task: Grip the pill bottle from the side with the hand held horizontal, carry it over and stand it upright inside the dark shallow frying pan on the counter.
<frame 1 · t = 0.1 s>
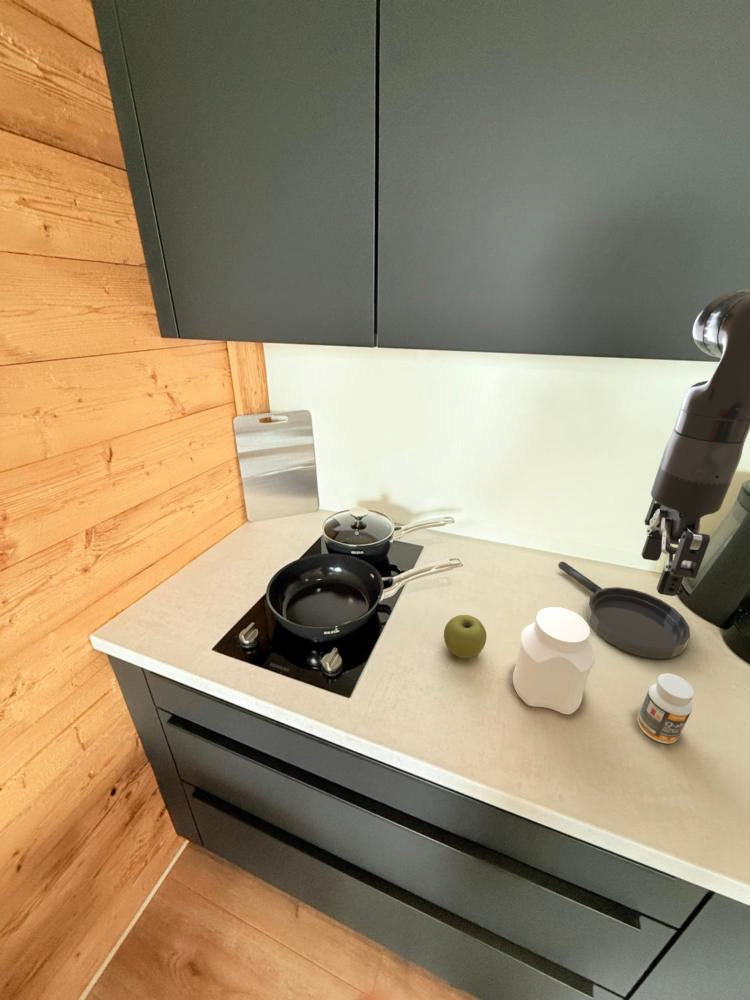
hand: (656, 574, 60), 28 cm above the worktop, tool pointing down, fingers open, 8 cm apart
pan: (633, 626, 89), on the worktop
jar: (545, 688, 76), on the worktop
pill bottle: (656, 729, 69), on the worktop
apple: (462, 651, 83), on the worktop
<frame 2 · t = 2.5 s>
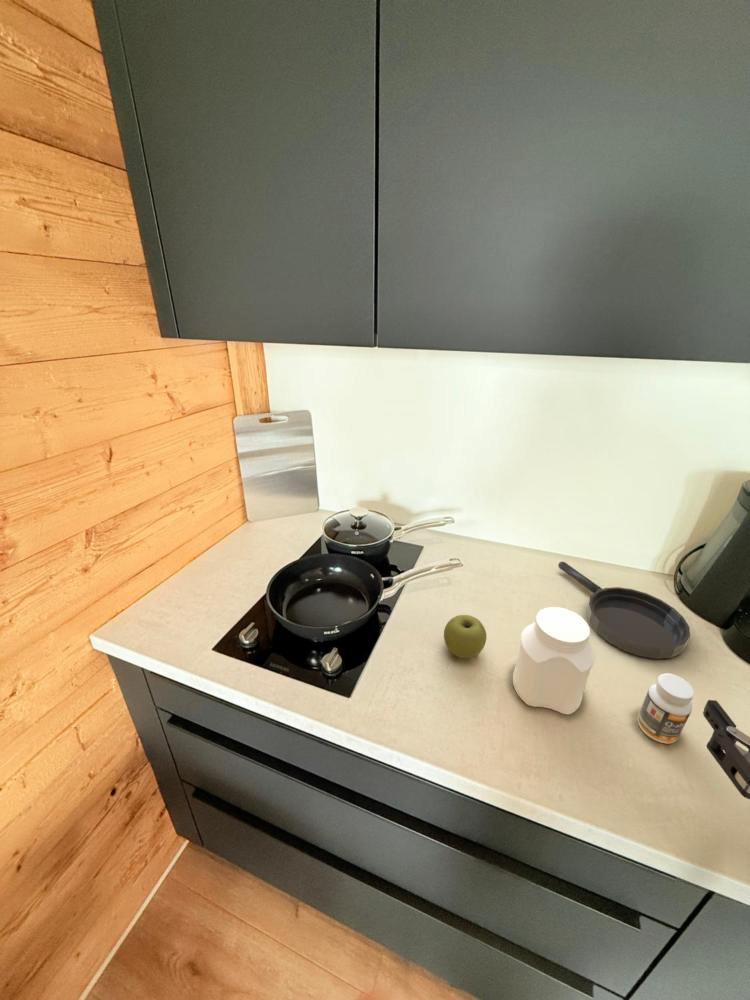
hand: (745, 707, 51), 18 cm above the worktop, tool horizontal, fingers open, 8 cm apart
nothing on the worktop moved.
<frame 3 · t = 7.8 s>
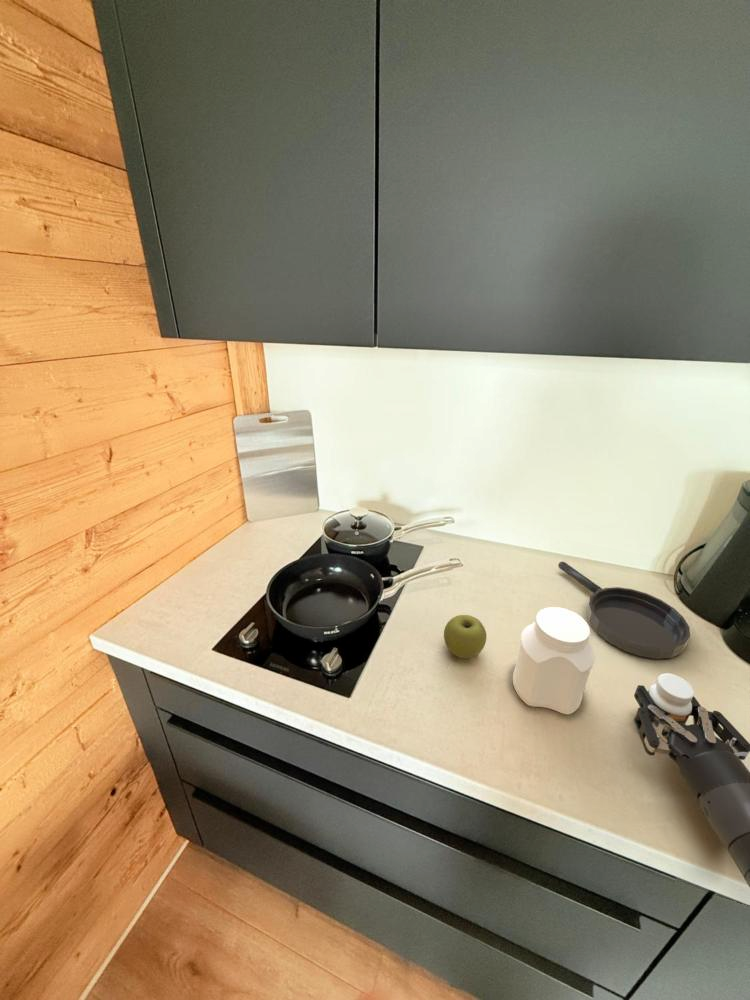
hand: (659, 689, 68), 6 cm above the worktop, tool horizontal, fingers closed on pill bottle, 5 cm apart
pill bottle: (656, 729, 69), on the worktop, touching gripper
everything else where it was.
when the fingers open (6 cm above the worktop, at t = 18.2 s): pill bottle stays where it is, resting on pan.
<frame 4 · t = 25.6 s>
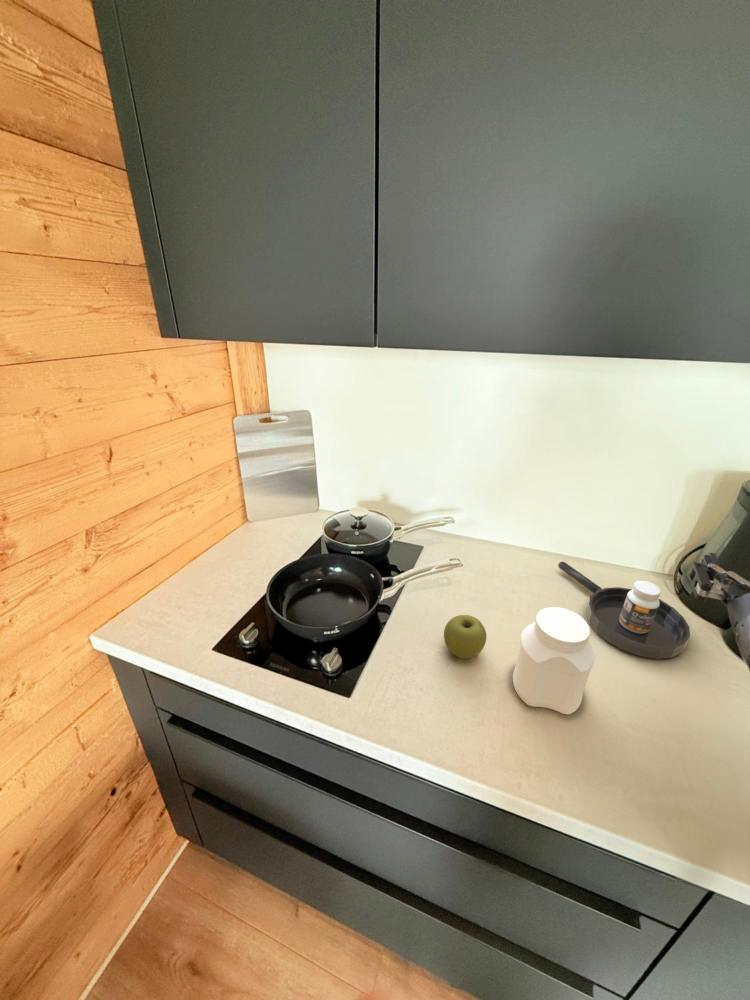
hand: (745, 565, 61), 28 cm above the worktop, tool horizontal, fingers open, 8 cm apart
pill bottle: (633, 625, 89), resting on pan
everything else where it was.
at the end: pill bottle inside the target area in the pan (0.1 cm from its centre), point 0.3 cm above the pan's base; pill bottle tilted 0°; the gripper is holding nothing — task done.
